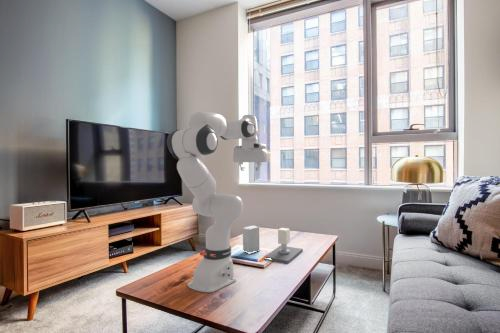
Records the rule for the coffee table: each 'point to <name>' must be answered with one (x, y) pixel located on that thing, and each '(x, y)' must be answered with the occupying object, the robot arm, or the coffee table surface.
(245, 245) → the skincare box
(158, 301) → the coffee table surface
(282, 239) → the white upright block
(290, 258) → the post base
